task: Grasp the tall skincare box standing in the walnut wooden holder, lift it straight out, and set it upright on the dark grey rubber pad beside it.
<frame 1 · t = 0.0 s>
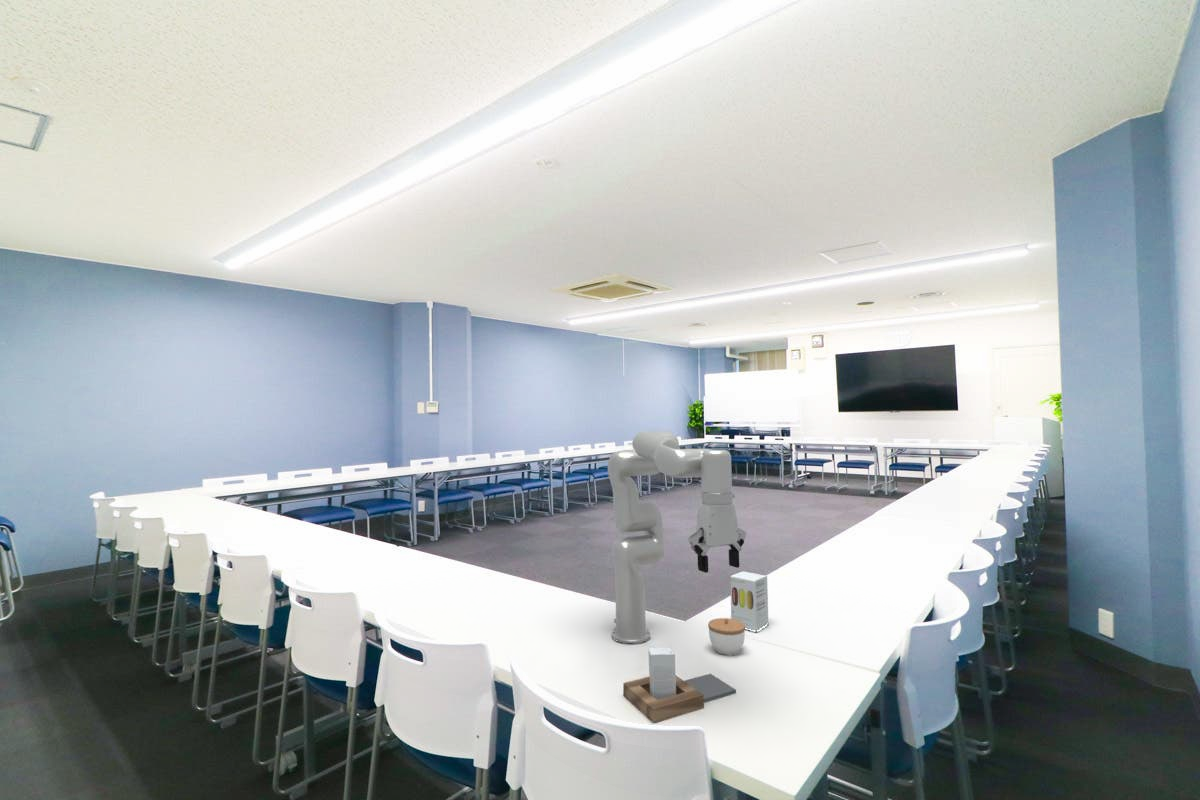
hand: (718, 568, 127), 31 cm above the table, tool pointing down, fingers open, 9 cm apart
lidded jar: (727, 651, 154), on the table
supplement box: (750, 627, 173), on the table
skincare box: (662, 702, 124), resting in holder
pad: (707, 688, 130), on the table
holder: (662, 701, 124), on the table
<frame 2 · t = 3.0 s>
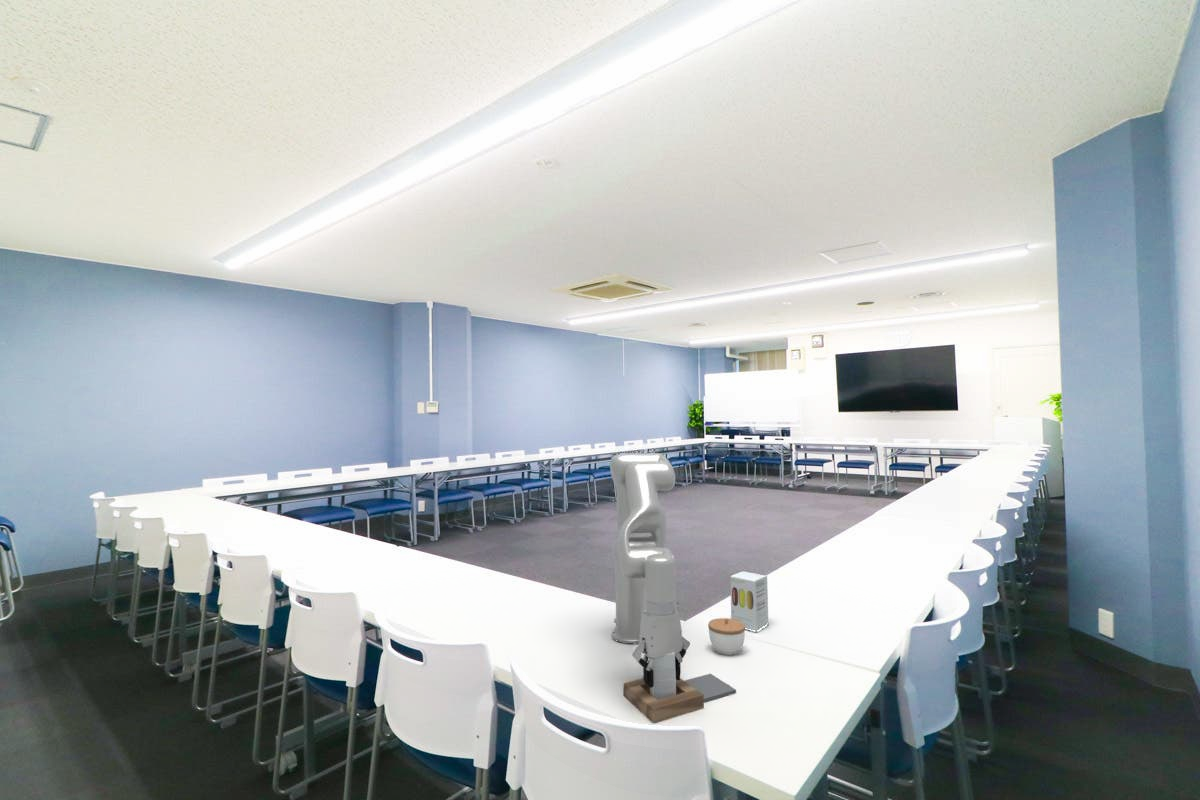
hand: (662, 681, 125), 5 cm above the table, tool pointing down, fingers closed on skincare box, 7 cm apart
skincare box: (662, 702, 124), resting in holder, touching gripper
everything else where it was.
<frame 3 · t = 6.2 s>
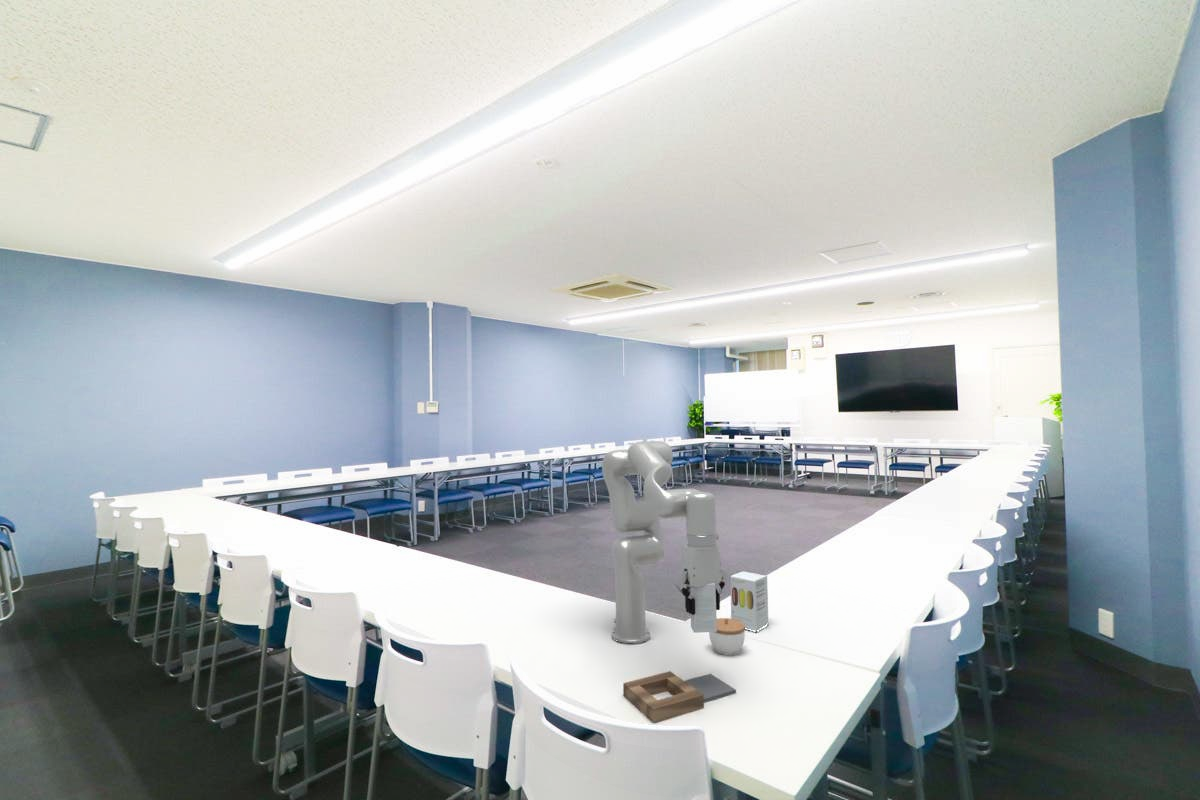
hand: (702, 610, 132), 20 cm above the table, tool pointing down, fingers closed on skincare box, 7 cm apart
skincare box: (703, 630, 131), point 14 cm above the table, touching gripper
everything else where it was.
when the fingers open (7 cm above the table, at t = 9.6 s): skincare box drops 1 cm, resting on pad.
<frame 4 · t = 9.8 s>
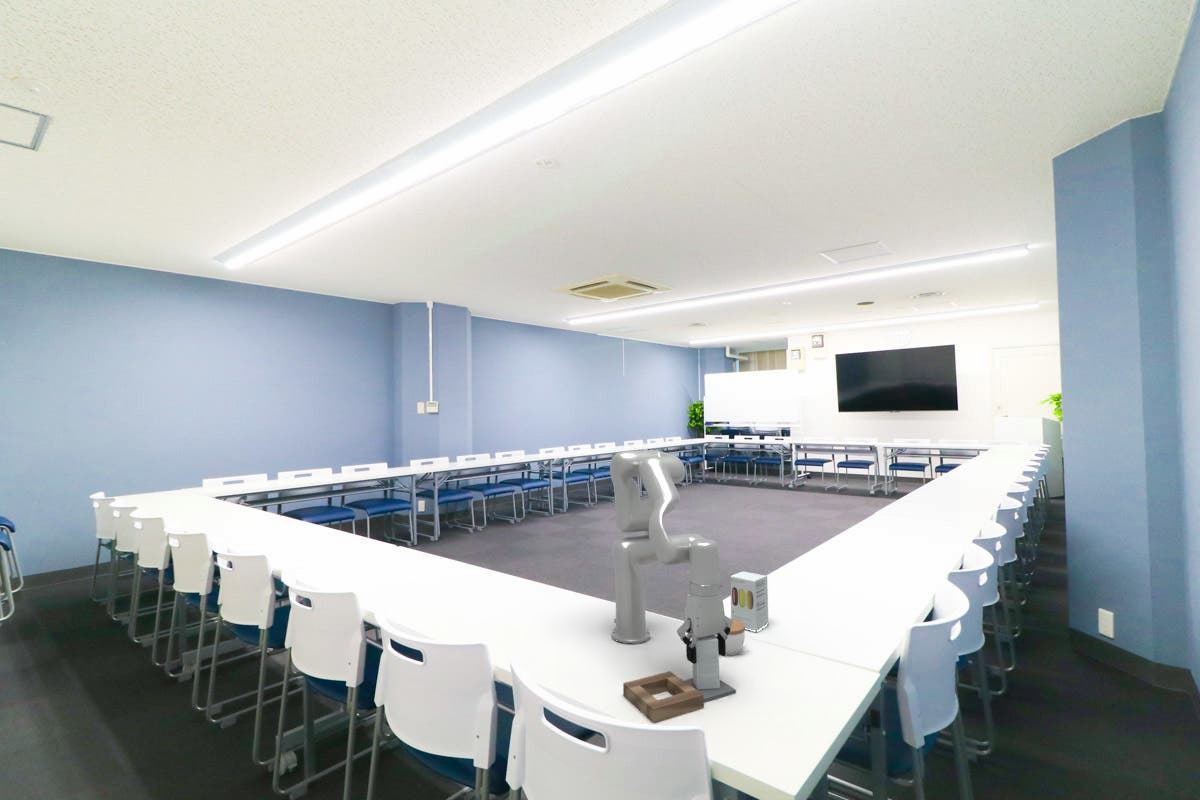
hand: (706, 657, 131), 8 cm above the table, tool pointing down, fingers open, 8 cm apart
skincare box: (706, 686, 131), point 1 cm above the table, touching pad
everything else where it was.
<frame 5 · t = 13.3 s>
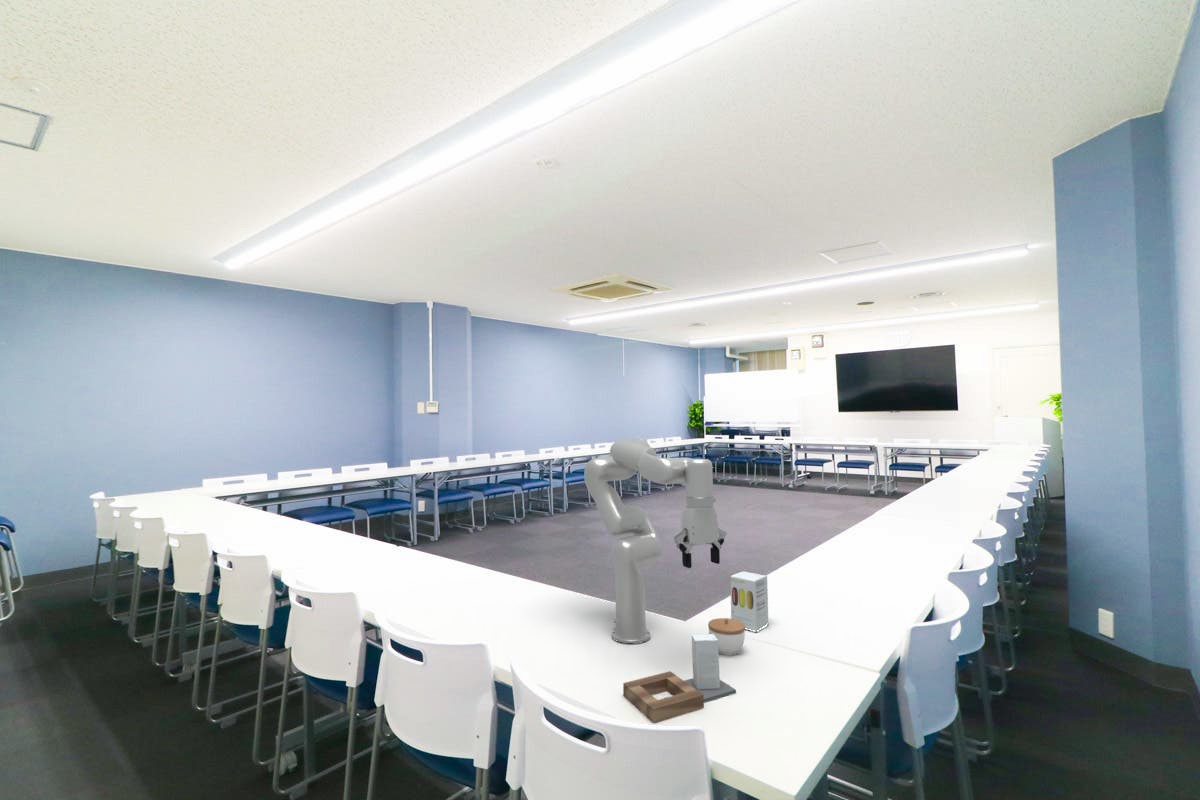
hand: (701, 564, 143), 28 cm above the table, tool pointing down, fingers open, 9 cm apart
nothing on the table moved.
at the end: skincare box inside the target area (0.3 cm from its centre), point 0.6 cm above the table; skincare box tilted 0°; the gripper is holding nothing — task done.
